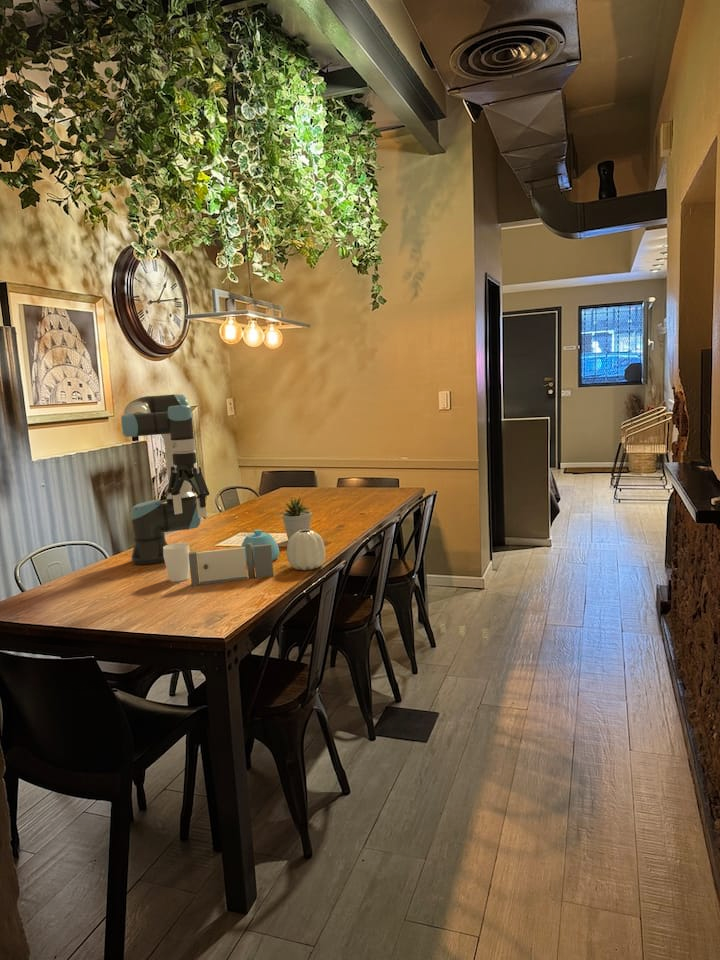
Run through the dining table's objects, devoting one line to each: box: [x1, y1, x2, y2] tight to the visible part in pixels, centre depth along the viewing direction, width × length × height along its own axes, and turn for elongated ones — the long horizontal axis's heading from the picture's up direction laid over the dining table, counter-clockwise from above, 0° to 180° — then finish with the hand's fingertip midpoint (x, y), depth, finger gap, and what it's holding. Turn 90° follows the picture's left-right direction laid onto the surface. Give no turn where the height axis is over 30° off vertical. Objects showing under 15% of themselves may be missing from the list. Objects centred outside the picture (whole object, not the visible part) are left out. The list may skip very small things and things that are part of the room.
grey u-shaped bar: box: [189, 543, 275, 586], centre depth 221 cm, size 3×28×12 cm, turn 101°
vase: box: [286, 529, 326, 571], centre depth 230 cm, size 14×14×13 cm
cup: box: [163, 542, 191, 583], centre depth 226 cm, size 9×9×12 cm
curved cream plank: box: [196, 547, 248, 583], centre depth 219 cm, size 16×2×10 cm, turn 101°
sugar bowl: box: [240, 529, 280, 565], centre depth 246 cm, size 15×15×12 cm
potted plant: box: [280, 495, 312, 541], centre depth 273 cm, size 13×14×20 cm
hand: (190, 515), depth 215 cm, fingers open, 13 cm apart
